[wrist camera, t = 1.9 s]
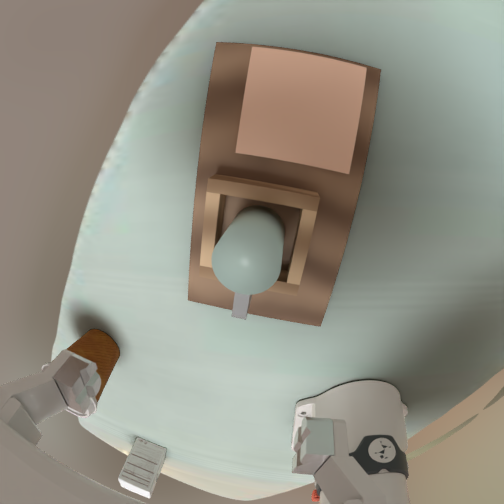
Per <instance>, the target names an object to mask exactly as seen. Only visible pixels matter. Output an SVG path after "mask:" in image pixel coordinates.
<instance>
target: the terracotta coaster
mask: <svg viewBox="0 0 504 504" xmlns="http://www.w3.org/2000/svg"><path fill="white" fill-rule="evenodd" d="M366 71H367V68H366V67H362V66H359V65H355V64H351V63H347V62H343V61H339V60H335V59H330V58H326V57H321V56H316V55H311V54H305V53H299V52H293V51H287V50H279V49H271V48H262V47H252V51H251V56H250V62H249V68H248V74H247V80H246V86H245V92H244V99H243V105H242V111H241V118H240V125H239V131H238V138H237V145H236V152H235V153H240V154H247V155H253V156H260V157H266V158H272V159H278V160H283V161H289V162H294V163H299V164H304V165H309V166H314V167H319V168H323V169H328V170H332V171H337V172H341V173H345V174H349V171H350V167H351V162H352V157H353V152H354V146H355V141H356V136H357V130H358V124H359V118H360V112H361V106H362V99H363V93H364V86H365V78H366Z"/></svg>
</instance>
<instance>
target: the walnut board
mask: <svg viewBox="0 0 504 504" xmlns="http://www.w3.org/2000/svg"><path fill="white" fill-rule="evenodd" d="M252 47H262V48H271V49H279V50H287V51H293V52H299V53H305V54H311V55H316V56H321V57H326V58H330V59H335V60H339V61H343V62H347V63H351V64H355V65H359V66H362V67H366V68H367V71H366V78H365V86H364V93H363V99H362V106H361V112H360V118H359V124H358V130H357V136H356V141H355V146H354V152H353V157H352V162H351V167H350V171H349V174H345V173H341V172H337V171H332V170H328V169H323V168H319V167H314V166H309V165H304V164H299V163H294V162H289V161H283V160H278V159H272V158H266V157H260V156H253V155H247V154H240V153H235V152H236V145H237V138H238V131H239V125H240V118H241V111H242V105H243V99H244V92H245V86H246V80H247V74H248V68H249V62H250V56H251V51H252ZM380 73H381V69H377V68H374V67H371V66H367V65H364V64H360V63H357V62H353V61H349V60H345V59H341V58H337V57H332V56H328V55H323V54H318V53H313V52H307V51H302V50H296V49H289V48H282V47H274V46H266V45H255V44H243V43H224V42H216V47H215V53H214V58H213V64H212V69H211V75H210V81H209V88H208V94H207V100H206V107H205V114H204V121H203V128H202V136H201V144H200V152H199V161H198V170H197V179H196V189H195V199H194V211H193V223H192V236H191V250H190V267H189V287H188V300H190V301H194V302H198V303H202V304H207V305H211V306H216V307H220V308H225V309H230V310H233V303H234V295H235V292H233V291H231V290H229V289H228V288H226V287H225V286H224V285H223V284H222V283H221V282H220V281H219V280H218V279H217V277H216V275H215V274H214V271H213V268H212V253H213V250H214V248H215V246H216V244H217V243H218V241H219V240H220V239H221V237H222V236H223V234H224V233H225V231H226V230H227V229H228V227H229V226H230V224H231V223H232V221H233V220H234V219H235V217H236V216H237V214H238V213H239V212H240V211H242V210H243V209H245V208H247V207H249V206H253V205H262V206H266V207H269V208H271V209H272V210H274V211H275V212H276V213H277V214H278V215H279V216H280V217H281V219H282V221H283V224H284V228H285V235H284V245H283V254H282V263H281V271H280V275H279V277H278V279H277V281H276V282H275V283H274V284H273V286H271V287H270V288H269V289H267V290H266V291H264V292H261V293H258V294H253V295H252V298H251V302H250V305H249V309H248V313H249V314H254V315H259V316H264V317H269V318H275V319H280V320H285V321H291V322H297V323H302V324H308V325H314V326H321V323H322V320H323V318H324V315H325V312H326V309H327V306H328V303H329V300H330V296H331V293H332V290H333V287H334V284H335V281H336V277H337V274H338V271H339V267H340V264H341V261H342V257H343V254H344V250H345V247H346V243H347V239H348V236H349V232H350V228H351V224H352V220H353V217H354V213H355V209H356V204H357V200H358V196H359V192H360V187H361V183H362V178H363V174H364V169H365V164H366V160H367V155H368V149H369V144H370V139H371V133H372V128H373V122H374V116H375V110H376V103H377V96H378V89H379V81H380Z"/></svg>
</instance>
